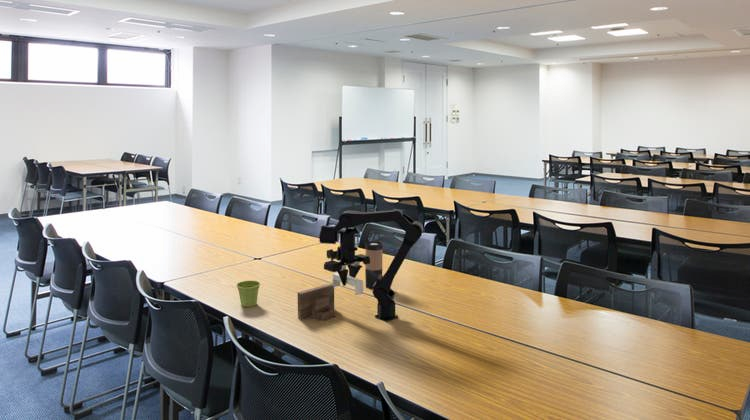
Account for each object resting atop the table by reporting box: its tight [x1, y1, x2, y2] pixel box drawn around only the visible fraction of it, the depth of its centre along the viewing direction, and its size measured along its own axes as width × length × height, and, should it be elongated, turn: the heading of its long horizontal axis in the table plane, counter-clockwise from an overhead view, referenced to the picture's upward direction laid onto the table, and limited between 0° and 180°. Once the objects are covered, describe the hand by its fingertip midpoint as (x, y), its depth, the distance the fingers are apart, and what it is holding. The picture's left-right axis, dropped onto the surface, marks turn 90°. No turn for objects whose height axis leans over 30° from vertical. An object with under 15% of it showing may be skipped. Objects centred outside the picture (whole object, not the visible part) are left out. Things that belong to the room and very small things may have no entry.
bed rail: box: [332, 272, 364, 296], centre depth 196 cm, size 14×3×5 cm, turn 44°
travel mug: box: [364, 240, 383, 290], centre depth 231 cm, size 8×8×20 cm
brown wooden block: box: [297, 283, 336, 322], centre depth 196 cm, size 8×16×10 cm, turn 134°
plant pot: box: [235, 280, 261, 308], centre depth 208 cm, size 9×9×9 cm
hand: (347, 284), depth 196 cm, fingers closed on bed rail, 3 cm apart
